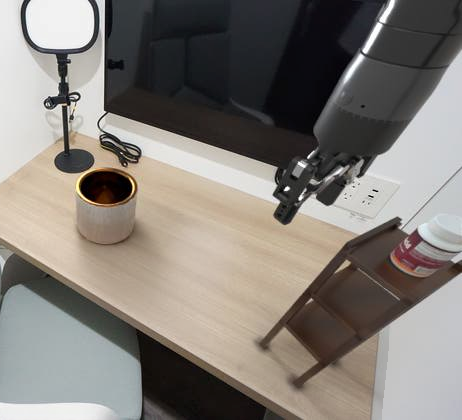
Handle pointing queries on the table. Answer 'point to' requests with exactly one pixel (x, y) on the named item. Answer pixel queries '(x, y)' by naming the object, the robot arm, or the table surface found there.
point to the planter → (105, 204)
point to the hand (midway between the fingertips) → (302, 210)
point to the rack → (356, 297)
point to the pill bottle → (429, 246)
